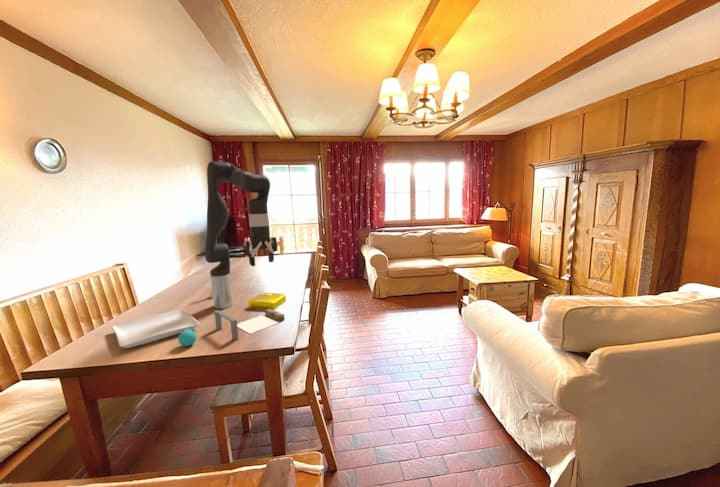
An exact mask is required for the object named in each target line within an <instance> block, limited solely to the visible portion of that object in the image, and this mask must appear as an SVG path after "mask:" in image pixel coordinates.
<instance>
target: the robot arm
mask: <svg viewBox="0 0 720 487" xmlns="http://www.w3.org/2000/svg"><path fill="white" fill-rule="evenodd" d="M206 177H207V178H206V179H207V209H206V210H207V211H206V237H205V245H204V258H205V261H206V262H207V263H209V264H214V263H219V264H217V265H216V266H214V267H213V268H212V269H211V270H210V271H209V273H210V275H209V276H210V282H211V283H210V284H211V293H213V298H212V301H213V308H214V309H216V310H219V309H226V308H230V307H231V306H233V305H234V302H233V291H232V281H231V280H232V278H231V261H230V260H231V255H230V254H231V253H230V249H229V245H228V244H226V243H216V242H217V240H218V237H219V235H220V234H221V233H222V231H223V230H224V229H225V227H226V226H227V224H228V220H229V207H228V205H227V203H226V202H225V201H224V198H223V197H222V196H221V194H220V192H219V189H218V188H219V186H218V185H219V184H218V183H231V182H232V183H233V185H235V186H237V187H239V188H241V189H242V190H243V191H244V192H246V193H253V194H255V193H257V194H258V195H257V197H255V198H251V199H249V200H248V222H249V223H248V224H249V235H250V240H244V241H243V256H245V257H248V263H249V265H250V267H255V266H256V258H255V256H256V254H257V253H258V251H261V250H266V251H267V252H268V254H267V255H268V262H269V263H273V262H274V261H275V260H274V259H275V256H274V253H275V252H277V251H279V250H278V242H277V237H273V236H271V237H270V234H271V233H270V225H269V224H270V222H269V221H270V220H269V215H268V200H269V193H270V189H271V181H270V179H269V178H268V177H267V175H264V174H252V173H250V172H249V171H246V170H243V169H240V168H238V167H236V166H235V165H234V164H232V163H230V162H226V161H225V162H224V161H209V162H208V163H207V168H206Z"/></svg>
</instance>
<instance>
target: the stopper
mask: <svg viewBox="0 0 720 487" xmlns="http://www.w3.org/2000/svg"><path fill="white" fill-rule="evenodd" d="M264 312H265V316H268V317H269V318H271V319H272V318H273V320H276V321H278V322H283V321H285V314H284V313H281V312H279V311H276V310H275V309H274V310H271V309H266V310H264Z"/></svg>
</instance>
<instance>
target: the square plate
mask: <svg viewBox="0 0 720 487" xmlns="http://www.w3.org/2000/svg"><path fill="white" fill-rule="evenodd" d="M200 324H201V322H200V321H198V320H197V319H196V318H195V317H194V316H192V315H191V314H190V313H189V312H188V311H186V310H185V309H182V308H181V309H177V310H172V311H168V312H163V313H159V314H155V315H149V316H145V317H142V318H138V319H134V320H130V321H127V322H123V323H119V324H115V325H112V327H111V329H112V330H113V332H114V334H115V336H116V339H117V342H118V346H119V347H120V348H121V347H122V348H124V349H130V348H131V349H132V348H134V347H139V346H143V345H147V344H150V343H153V342H157V341H160V340H163V339H167V338H169V337H174V336H177V335H180V334H181V333H182V332H183V331H186V330H192V331H193V330H195V329H196V328H198V327H199V326H200Z"/></svg>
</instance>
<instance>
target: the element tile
mask: <svg viewBox="0 0 720 487" xmlns="http://www.w3.org/2000/svg"><path fill="white" fill-rule="evenodd" d="M286 297H287V296H286V294H285V293H277V292H275V293H274V292H262V293H260V294H258V295H256V296H254V297H252V298H250V299H249V300H248V301H247V304H248V309H250V310H263V311H265V310H266V309H271V310H274V311H275V310H276V309H278V308H279V307H280V306H281V305H283V304H285V303H286V302H287V298H286Z"/></svg>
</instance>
